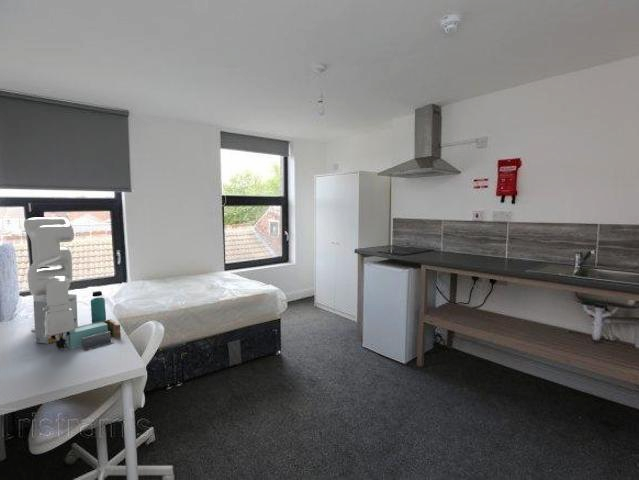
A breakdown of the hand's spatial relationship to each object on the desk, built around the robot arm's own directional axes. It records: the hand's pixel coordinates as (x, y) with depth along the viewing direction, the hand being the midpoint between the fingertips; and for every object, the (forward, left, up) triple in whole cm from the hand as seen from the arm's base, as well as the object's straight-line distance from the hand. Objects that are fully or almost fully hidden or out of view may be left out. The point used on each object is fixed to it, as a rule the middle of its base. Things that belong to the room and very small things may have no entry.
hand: (61, 347), depth 144 cm
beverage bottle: (-18, +20, -1) cm, 27 cm away
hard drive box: (-20, +3, -1) cm, 20 cm away
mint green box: (-2, +11, -1) cm, 11 cm away
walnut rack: (-1, +13, -1) cm, 13 cm away
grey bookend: (+7, +12, -1) cm, 14 cm away
